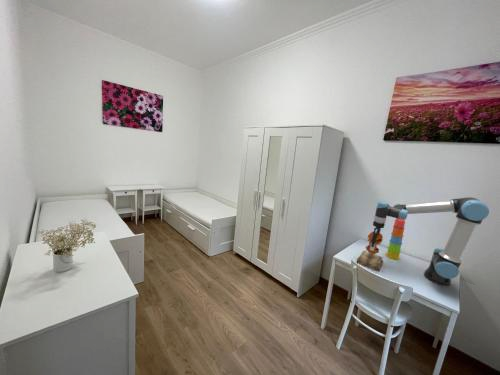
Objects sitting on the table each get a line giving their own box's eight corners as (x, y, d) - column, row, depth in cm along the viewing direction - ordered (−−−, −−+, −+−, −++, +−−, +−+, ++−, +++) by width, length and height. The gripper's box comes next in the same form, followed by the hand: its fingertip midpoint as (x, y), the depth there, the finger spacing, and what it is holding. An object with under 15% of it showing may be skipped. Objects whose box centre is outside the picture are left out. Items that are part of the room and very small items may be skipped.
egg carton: (382, 263, 174) (384, 257, 173) (379, 271, 162) (380, 264, 161) (361, 256, 184) (362, 249, 183) (356, 262, 172) (357, 256, 170)
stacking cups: (400, 261, 181) (410, 222, 174) (386, 257, 185) (395, 219, 178) (398, 255, 190) (407, 219, 183) (384, 252, 195) (393, 216, 187)
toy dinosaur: (382, 257, 165) (387, 235, 161) (366, 254, 167) (371, 232, 163) (376, 250, 175) (381, 229, 172) (362, 247, 177) (367, 227, 174)
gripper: (376, 217, 176) (370, 242, 181) (370, 223, 159) (364, 250, 164) (387, 219, 172) (380, 245, 176) (382, 226, 155) (375, 254, 159)
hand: (373, 248), depth 170 cm, fingers closed on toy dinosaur, 10 cm apart
